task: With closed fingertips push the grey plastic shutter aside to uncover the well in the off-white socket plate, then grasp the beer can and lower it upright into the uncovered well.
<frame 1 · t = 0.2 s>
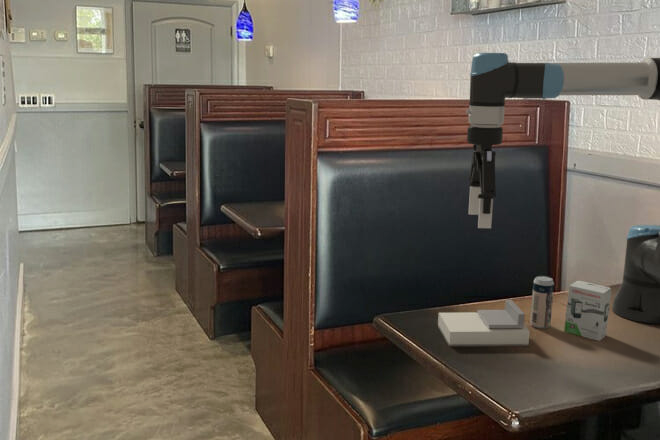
hand: (479, 221, 154), 27 cm above the table, fingers open, 13 cm apart
shutter: (500, 313, 159), point 5 cm above the table, slide at 0.0 cm
ink box: (584, 334, 162), on the table
socket plate: (481, 335, 160), on the table
beer can: (539, 326, 167), on the table
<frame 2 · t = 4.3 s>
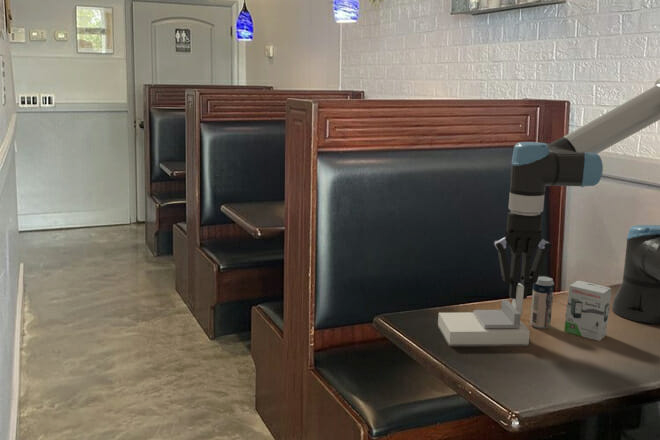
hand: (516, 311, 159), 6 cm above the table, fingers closed
shutter: (496, 313, 159), point 5 cm above the table, slide at 0.9 cm, touching gripper
everything else where it was.
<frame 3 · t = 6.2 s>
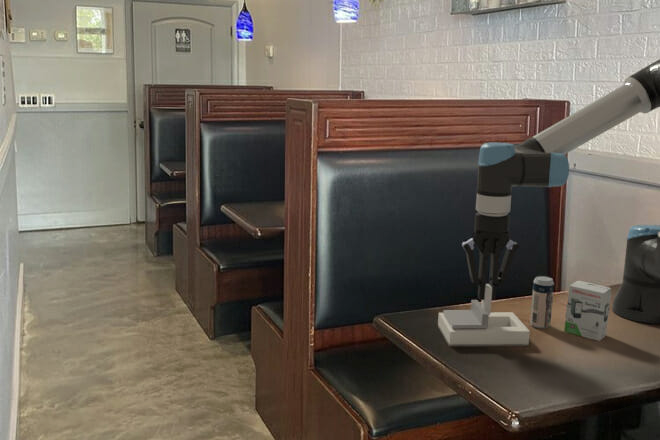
hand: (485, 312, 159), 6 cm above the table, fingers closed
shutter: (465, 313, 158), point 5 cm above the table, slide at 8.2 cm, touching gripper
everything else where it was.
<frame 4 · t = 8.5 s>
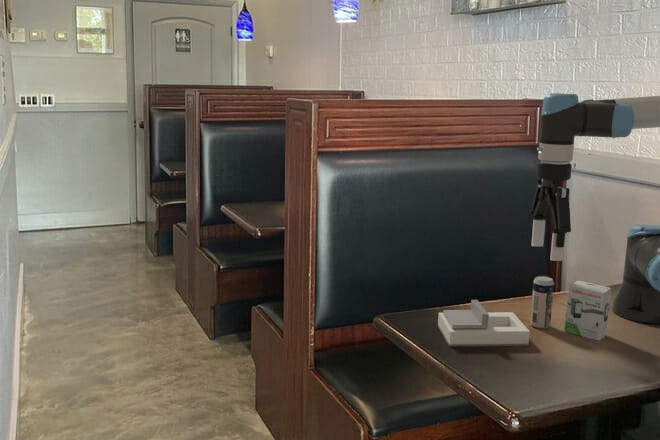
hand: (546, 252, 163), 18 cm above the table, fingers open, 12 cm apart
shutter: (465, 313, 158), point 5 cm above the table, slide at 8.2 cm
everything else where it was.
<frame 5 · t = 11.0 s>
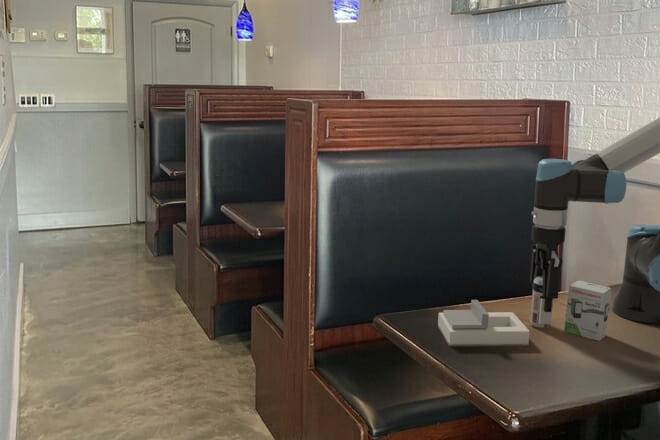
hand: (540, 319, 166), 2 cm above the table, fingers closed on beer can, 5 cm apart
beer can: (540, 326, 167), on the table, touching gripper
everything else where it was.
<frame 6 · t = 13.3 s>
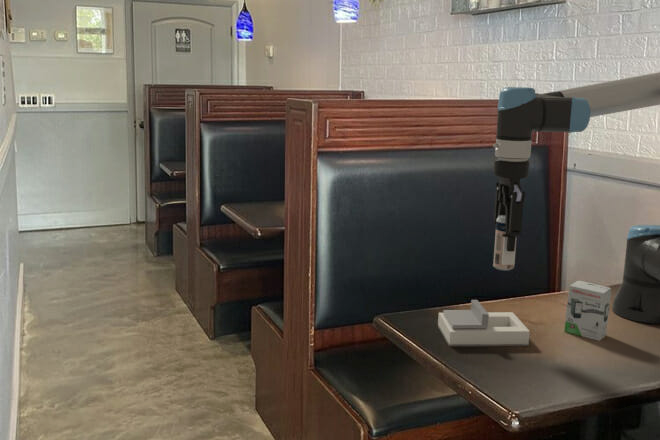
hand: (504, 260, 156), 18 cm above the table, fingers closed on beer can, 5 cm apart
beer can: (503, 269, 157), point 16 cm above the table, touching gripper
everything else where it was.
when the fingers open (5 cm above the table, at t = 15.8 s): beer can drops 3 cm, resting on socket plate.
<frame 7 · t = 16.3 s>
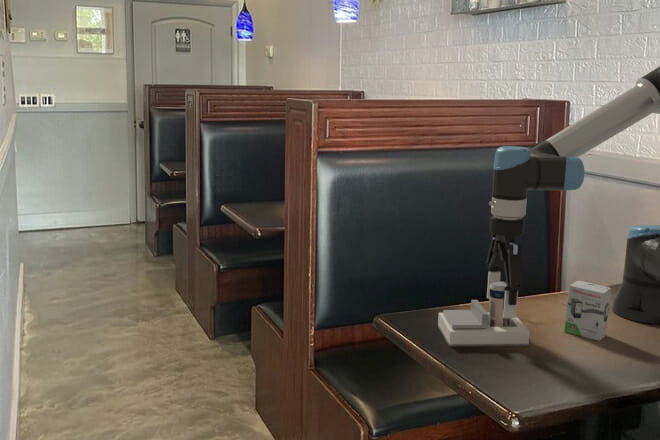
hand: (500, 307, 159), 7 cm above the table, fingers open, 12 cm apart
beer can: (498, 333, 160), resting on socket plate
everything else where it was.
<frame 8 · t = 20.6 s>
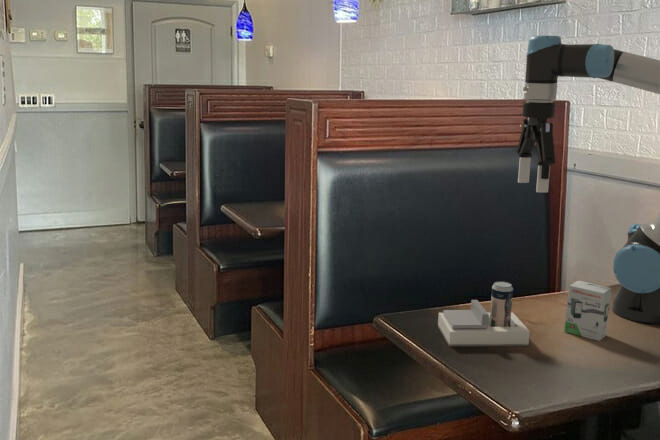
hand: (532, 187, 172), 32 cm above the table, fingers open, 13 cm apart
nothing on the table moved.
at the end: shutter slide at 8.2 cm; beer can 0.2 cm from the target spot in the socket plate, point 0.3 cm above the socket plate's base; beer can tilted 0° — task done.
